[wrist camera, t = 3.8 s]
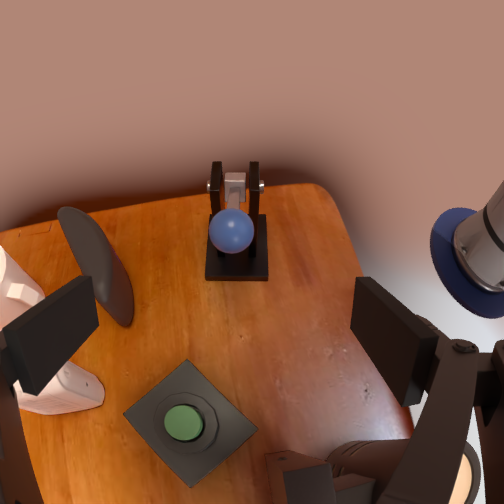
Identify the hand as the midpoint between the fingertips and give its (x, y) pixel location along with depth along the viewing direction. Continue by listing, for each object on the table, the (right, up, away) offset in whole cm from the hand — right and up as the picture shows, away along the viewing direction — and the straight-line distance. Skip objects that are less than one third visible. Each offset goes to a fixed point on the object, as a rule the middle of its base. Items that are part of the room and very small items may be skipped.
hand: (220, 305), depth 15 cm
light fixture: (+10, -23, +14) cm, 28 cm away
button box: (-5, -17, +17) cm, 24 cm away
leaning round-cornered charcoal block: (-19, -2, +26) cm, 32 cm away
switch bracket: (-1, +3, +29) cm, 30 cm away
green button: (-5, -15, +14) cm, 21 cm away
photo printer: (-21, -16, +17) cm, 31 cm away
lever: (0, +5, +16) cm, 17 cm away
